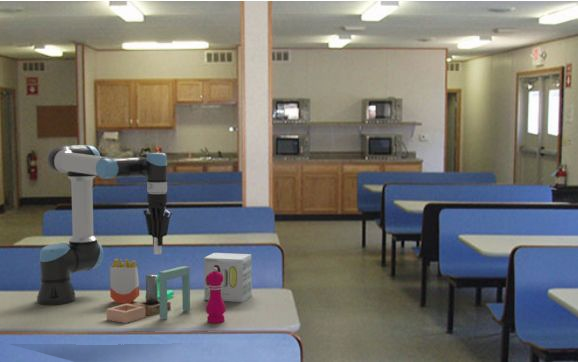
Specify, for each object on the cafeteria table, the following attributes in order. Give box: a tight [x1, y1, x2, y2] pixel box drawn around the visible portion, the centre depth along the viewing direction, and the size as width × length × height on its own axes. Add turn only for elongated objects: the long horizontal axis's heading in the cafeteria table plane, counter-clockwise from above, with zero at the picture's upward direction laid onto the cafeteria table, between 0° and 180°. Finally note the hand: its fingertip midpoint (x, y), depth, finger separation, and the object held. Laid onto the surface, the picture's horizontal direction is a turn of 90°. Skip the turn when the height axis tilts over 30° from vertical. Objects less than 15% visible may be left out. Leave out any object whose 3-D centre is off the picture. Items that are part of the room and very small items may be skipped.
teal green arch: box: [158, 265, 191, 320], centre depth 256 cm, size 3×14×17 cm, turn 146°
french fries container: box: [109, 258, 140, 304], centre depth 278 cm, size 5×11×18 cm, turn 82°
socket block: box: [133, 300, 172, 316], centre depth 263 cm, size 10×10×3 cm
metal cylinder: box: [145, 273, 158, 306], centre depth 263 cm, size 4×4×14 cm
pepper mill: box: [205, 267, 227, 324], centre depth 247 cm, size 7×7×20 cm
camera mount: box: [156, 274, 175, 301], centre depth 283 cm, size 12×8×10 cm, turn 166°
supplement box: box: [203, 252, 253, 303], centre depth 283 cm, size 17×13×18 cm
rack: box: [106, 303, 147, 324], centre depth 252 cm, size 10×10×4 cm
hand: (157, 253), depth 260 cm, fingers closed
